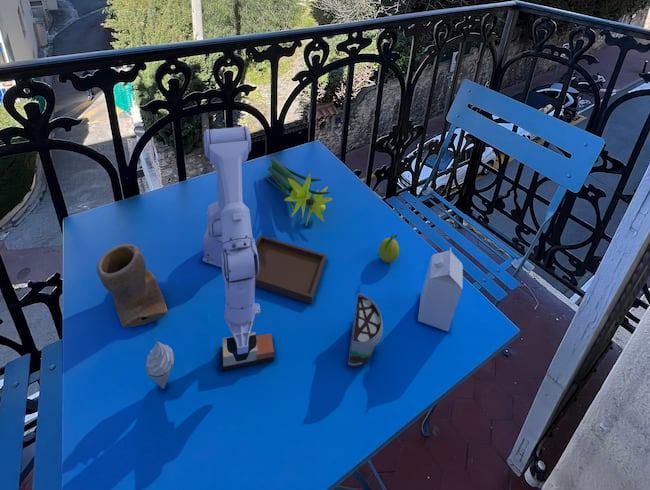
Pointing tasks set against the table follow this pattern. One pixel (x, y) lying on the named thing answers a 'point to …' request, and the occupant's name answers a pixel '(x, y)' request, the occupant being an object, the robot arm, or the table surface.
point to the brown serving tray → (288, 269)
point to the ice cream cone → (160, 363)
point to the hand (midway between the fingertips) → (239, 340)
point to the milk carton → (441, 290)
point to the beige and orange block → (256, 355)
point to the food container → (364, 331)
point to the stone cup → (131, 286)
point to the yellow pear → (389, 249)
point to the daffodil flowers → (299, 190)
